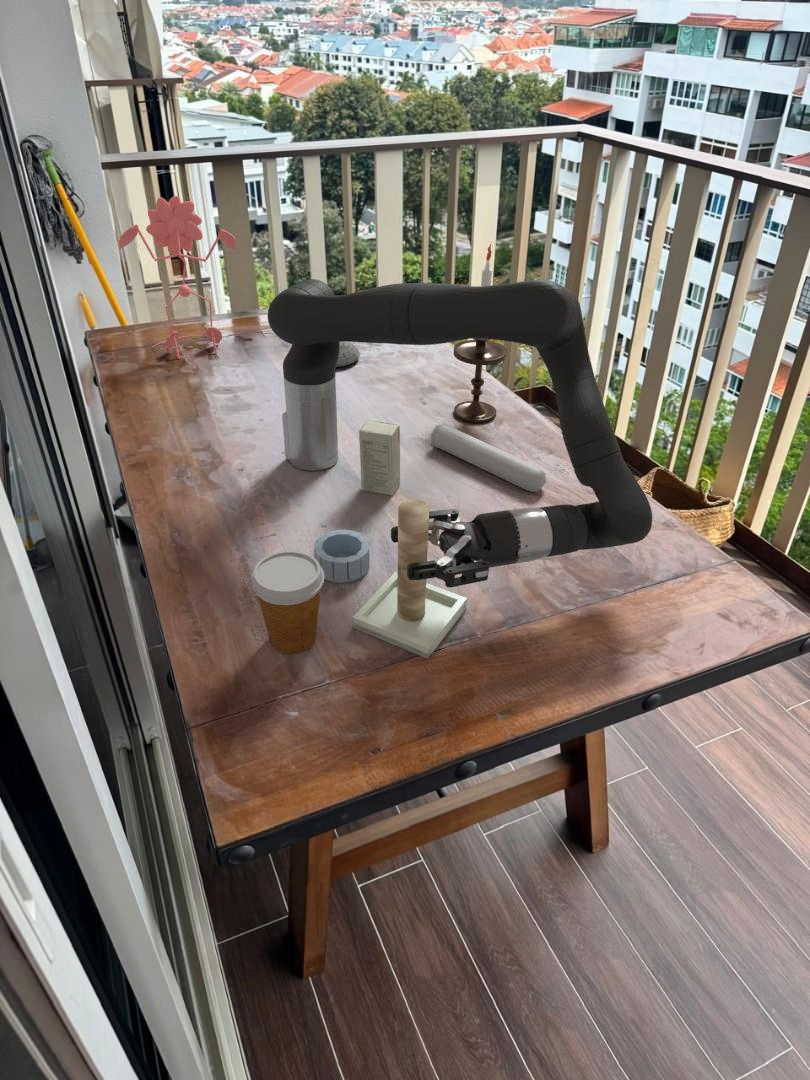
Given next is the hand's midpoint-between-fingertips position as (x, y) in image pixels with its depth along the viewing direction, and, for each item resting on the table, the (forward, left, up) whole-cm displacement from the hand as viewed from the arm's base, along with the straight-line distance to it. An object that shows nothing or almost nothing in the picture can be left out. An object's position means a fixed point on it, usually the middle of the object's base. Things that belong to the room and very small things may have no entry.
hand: (399, 553), depth 101 cm
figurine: (-95, +61, -12) cm, 113 cm away
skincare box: (-21, +29, -12) cm, 38 cm away
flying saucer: (-62, +73, -12) cm, 97 cm away
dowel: (+1, +1, -11) cm, 11 cm away
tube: (-7, +46, -12) cm, 48 cm away
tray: (+1, +1, -12) cm, 12 cm away
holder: (-14, +6, -12) cm, 19 cm away
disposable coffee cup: (-11, -11, -12) cm, 19 cm away
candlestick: (-19, +65, -12) cm, 69 cm away
